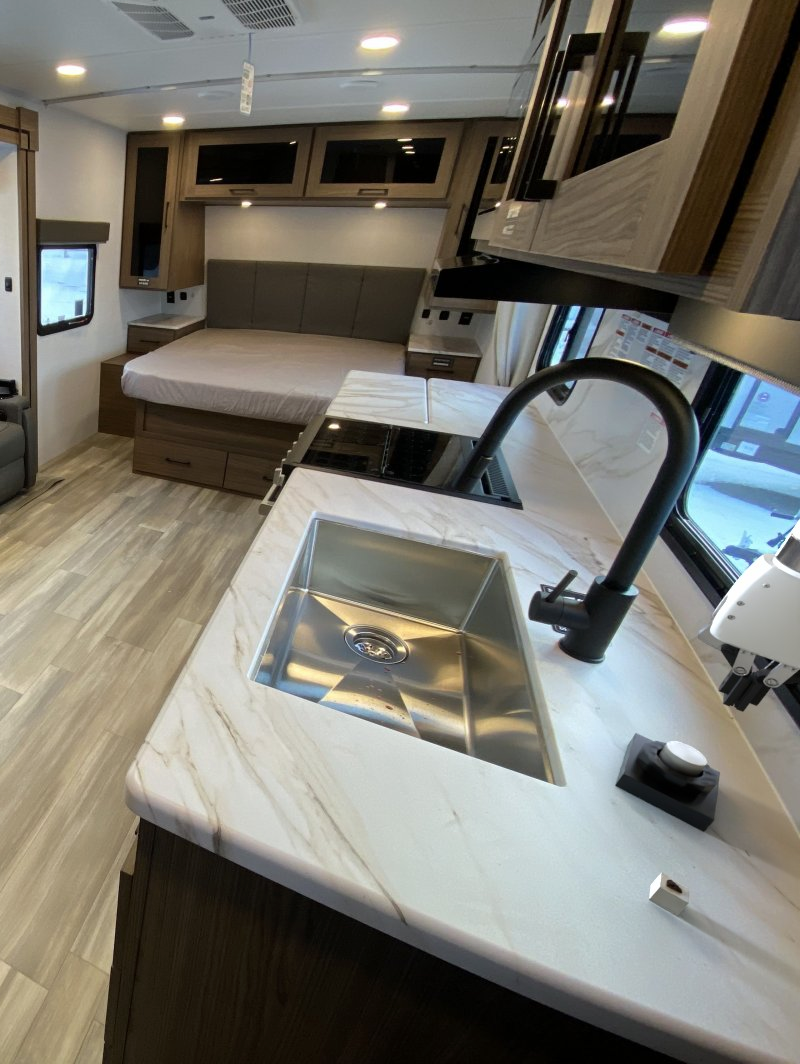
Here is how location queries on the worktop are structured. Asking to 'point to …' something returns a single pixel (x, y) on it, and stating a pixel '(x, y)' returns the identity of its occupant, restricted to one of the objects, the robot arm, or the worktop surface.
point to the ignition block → (668, 784)
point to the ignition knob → (683, 758)
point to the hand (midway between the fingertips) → (733, 701)
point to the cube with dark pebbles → (669, 894)
